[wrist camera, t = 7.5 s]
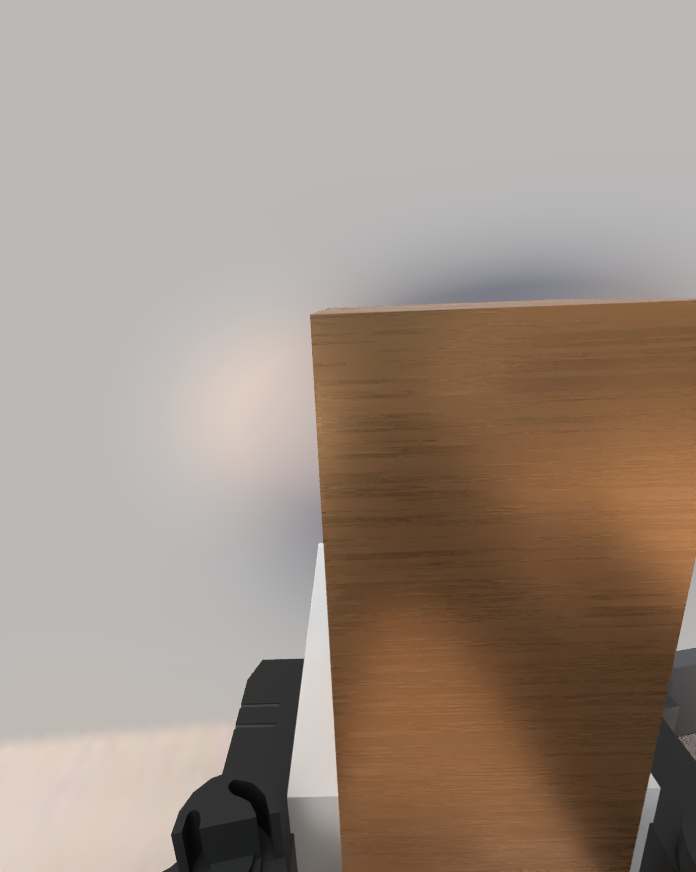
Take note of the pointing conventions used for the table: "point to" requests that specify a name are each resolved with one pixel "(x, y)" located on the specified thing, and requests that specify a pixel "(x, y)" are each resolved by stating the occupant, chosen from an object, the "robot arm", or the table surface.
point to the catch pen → (684, 690)
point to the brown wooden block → (503, 573)
